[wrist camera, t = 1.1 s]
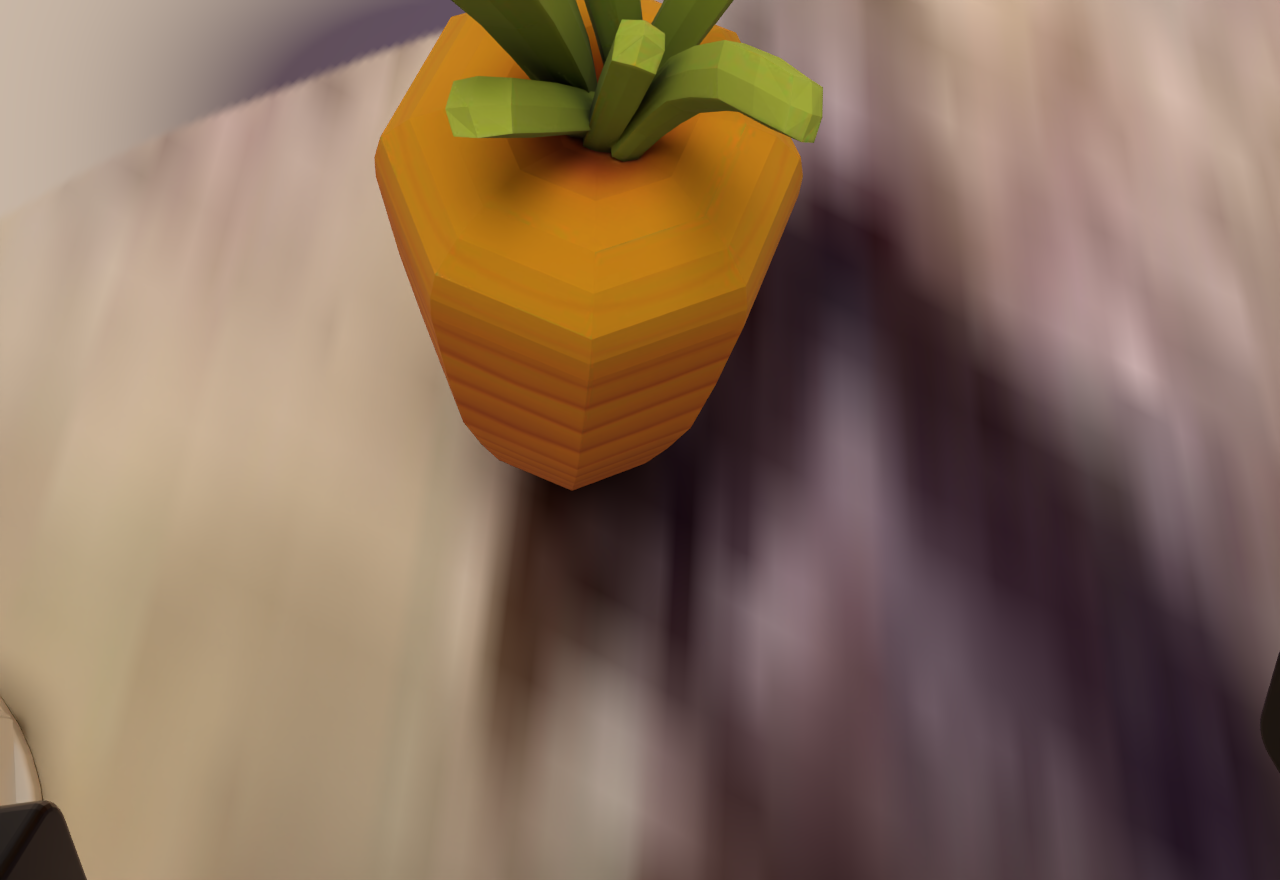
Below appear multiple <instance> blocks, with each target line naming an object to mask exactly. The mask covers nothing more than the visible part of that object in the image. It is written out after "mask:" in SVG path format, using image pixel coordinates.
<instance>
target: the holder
mask: <svg viewBox="0 0 1280 880" xmlns="http://www.w3.org/2000/svg"><path fill="white" fill-rule="evenodd" d="M41 800H42V795H41V787H40V783H39V779H38V775H37V772H36V768H35V764H34V761H33V757H32V754H31V752H30V749H29V747H28V745H27V742H26V740H25V738H24V735H23V733H22V731H21V729H20V726H19V725H18V723H17V721H16V720H15V718H14V717H13V715H12V714H11V712H10V710H9V709H8V707H7V706H6V704H5V702H4V701H3V699H2V698H1V697H0V806H2V805H10V804H18V803H25V802H33V801H41Z"/></svg>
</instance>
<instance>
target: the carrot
mask: <svg viewBox="0 0 1280 880" xmlns="http://www.w3.org/2000/svg"><path fill="white" fill-rule="evenodd" d="M452 1H453V2H455V4H456V5H458V6H459V7H460V8H461V9H462V10H464V11H465V12H466V13H464V14H461V15H456V16H453V17H451V18H450V20H449V22H448V23H447V25H446V27H445V28H444V30H443V32H442V34H441V35H440V37H439V39H438V40H437V42H436V44H435V45H434V47H433V49H432V51H431V52H430V54H429V56H428V57H427V59H426V61H425V62H424V64H423V66H422V67H421V69H420V71H419V73H418V74H417V76H416V78H415V79H414V81H413V83H412V84H411V86H410V88H409V89H408V91H407V93H406V95H405V96H404V98H403V100H402V101H401V103H400V105H399V106H398V108H397V110H396V111H395V113H394V115H393V117H392V118H391V120H390V122H389V123H388V125H387V127H386V128H385V130H384V132H383V133H382V135H381V137H380V140H379V144H378V147H377V150H376V154H375V170H376V178H377V181H378V185H379V188H380V191H381V195H382V198H383V201H384V204H385V208H386V211H387V214H388V218H389V221H390V224H391V227H392V231H393V234H394V237H395V241H396V244H397V247H398V251H399V254H400V257H401V259H402V262H403V265H404V268H405V270H406V273H407V276H408V279H409V281H410V284H411V287H412V289H413V292H414V295H415V298H416V300H417V303H418V306H419V309H420V311H421V314H422V317H423V319H424V322H425V324H426V327H427V330H428V332H429V335H430V337H431V340H432V342H433V345H434V348H435V350H436V353H437V355H438V358H439V360H440V363H441V366H442V368H443V371H444V373H445V376H446V378H447V381H448V384H449V386H450V389H451V391H452V394H453V396H454V399H455V402H456V404H457V407H458V409H459V412H460V414H461V417H462V420H463V422H464V423H465V425H466V426H467V427H468V428H469V429H470V431H471V432H472V433H473V434H474V436H475V437H476V438H477V439H478V440H479V442H480V443H481V444H482V445H483V446H484V447H485V448H486V449H487V450H489V451H490V452H491V453H492V454H493V455H494V456H495V457H496V458H497V459H499V460H500V461H503V462H505V463H507V464H510V465H512V466H514V467H517V468H519V469H522V470H524V471H526V472H529V473H531V474H533V475H536V476H538V477H541V478H543V479H545V480H548V481H550V482H552V483H555V484H557V485H560V486H562V487H564V488H567V489H569V490H572V491H573V490H575V489H578V488H581V487H583V486H586V485H589V484H591V483H594V482H597V481H599V480H602V479H605V478H607V477H610V476H613V475H615V474H618V473H621V472H623V471H626V470H629V469H631V468H634V467H637V466H639V465H642V464H645V463H646V462H648V461H649V460H651V459H652V458H654V457H655V456H657V455H658V454H660V453H661V452H663V451H664V450H666V449H667V448H668V447H670V446H671V445H672V444H673V443H674V442H675V441H676V440H677V439H679V438H680V437H681V436H682V435H683V434H684V433H685V432H686V431H688V430H689V429H690V428H691V426H692V424H693V423H694V421H695V419H696V418H697V416H698V414H699V412H700V411H701V409H702V407H703V406H704V404H705V402H706V400H707V399H708V397H709V395H710V393H711V392H712V390H713V388H714V387H715V385H716V383H717V381H718V379H719V377H720V374H721V372H722V370H723V368H724V366H725V364H726V362H727V360H728V358H729V356H730V354H731V352H732V350H733V348H734V346H735V343H736V341H737V339H738V337H739V335H740V333H741V331H742V329H743V327H744V325H745V322H746V320H747V317H748V315H749V313H750V310H751V308H752V305H753V303H754V301H755V298H756V296H757V293H758V291H759V289H760V286H761V284H762V281H763V279H764V277H765V274H766V272H767V269H768V267H769V265H770V262H771V260H772V257H773V255H774V253H775V250H776V248H777V245H778V243H779V241H780V238H781V236H782V233H783V231H784V228H785V226H786V224H787V221H788V219H789V216H790V214H791V212H792V209H793V207H794V204H795V202H796V200H797V197H798V195H799V191H800V186H801V182H802V178H803V174H802V165H801V157H800V155H799V153H798V151H797V149H796V147H795V145H794V143H793V141H792V139H791V138H793V139H796V140H798V141H800V142H811V143H814V141H815V138H816V135H817V132H818V129H819V125H820V122H821V119H822V104H823V87H821V86H820V85H818V84H817V83H815V82H814V81H812V80H810V79H809V78H808V77H806V76H805V75H803V74H802V73H801V72H799V71H798V70H796V69H795V68H794V67H792V66H791V65H789V64H788V63H787V62H785V61H784V60H782V59H781V58H779V57H776V56H774V55H771V54H769V53H767V52H764V51H762V50H759V49H757V48H754V47H752V46H749V45H747V44H744V43H741V42H740V40H739V38H738V36H737V34H736V33H735V32H733V31H730V30H727V29H725V28H722V27H720V26H717V25H715V24H716V22H717V21H718V20H719V19H720V17H721V16H722V15H723V13H724V12H725V11H726V9H727V8H728V7H729V6H730V4H731V3H732V2H733V0H664V1H663V3H659V2H657V1H654V0H452Z"/></svg>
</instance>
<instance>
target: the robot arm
mask: <svg viewBox="0 0 1280 880" xmlns="http://www.w3.org/2000/svg"><path fill="white" fill-rule="evenodd" d="M1260 730H1261V736H1262V740H1263V743H1264V745H1265V748H1266V750H1267V752H1268V754H1269V756H1270V758H1271V759H1272V761H1273V763H1274V765H1275V766H1276V768H1277V770H1278V771H1279V773H1280V652H1279V655H1278V658H1277V662H1276V665H1275V669H1274V672H1273V676H1272V679H1271V683H1270V686H1269V690H1268V693H1267V696H1266V700H1265V703H1264V707H1263V710H1262V714H1261V719H1260ZM0 880H87V879H86V876H85V873H84V871H83V868H82V865H81V862H80V860H79V857H78V854H77V851H76V849H75V846H74V843H73V840H72V838H71V835H70V832H69V830H68V827H67V824H66V821H65V819H64V816H63V814H62V813H61V811H60V809H59V808H58V807H57V806H56V805H55V804H54V803H52V802H49V801H42V800H41V801H33V802H25V803H18V804H10V805H2V806H0Z"/></svg>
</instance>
